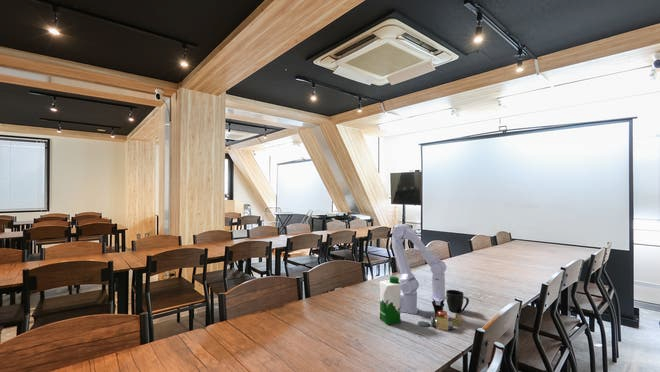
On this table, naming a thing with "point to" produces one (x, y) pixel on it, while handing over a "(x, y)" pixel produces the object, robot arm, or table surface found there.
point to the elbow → (457, 320)
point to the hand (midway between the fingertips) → (438, 315)
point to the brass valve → (442, 321)
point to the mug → (456, 301)
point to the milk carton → (390, 301)
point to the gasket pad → (424, 324)
